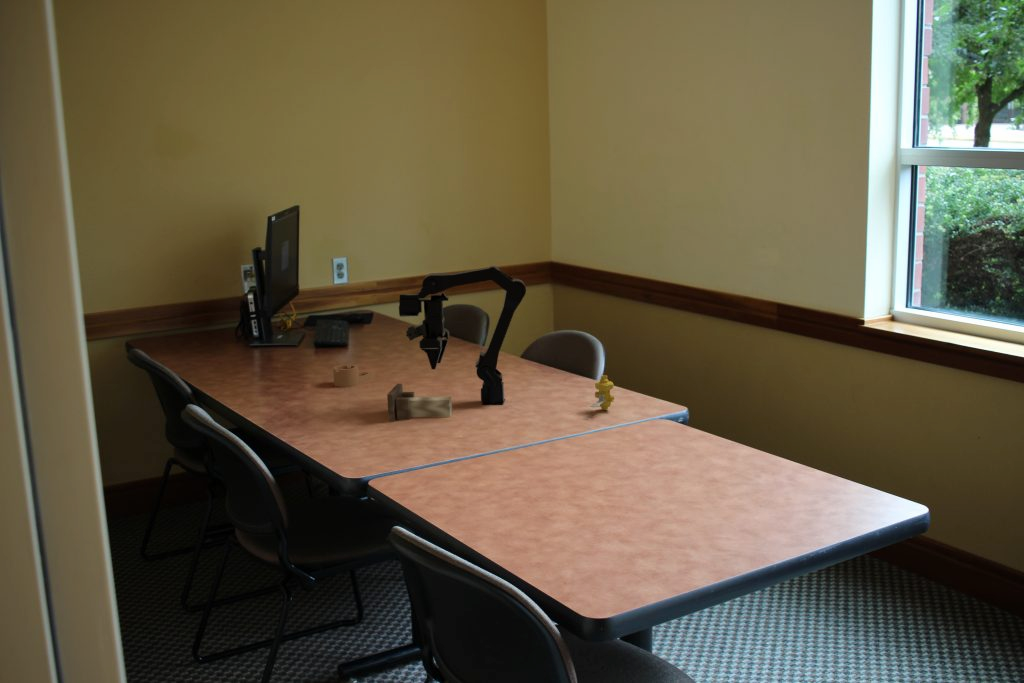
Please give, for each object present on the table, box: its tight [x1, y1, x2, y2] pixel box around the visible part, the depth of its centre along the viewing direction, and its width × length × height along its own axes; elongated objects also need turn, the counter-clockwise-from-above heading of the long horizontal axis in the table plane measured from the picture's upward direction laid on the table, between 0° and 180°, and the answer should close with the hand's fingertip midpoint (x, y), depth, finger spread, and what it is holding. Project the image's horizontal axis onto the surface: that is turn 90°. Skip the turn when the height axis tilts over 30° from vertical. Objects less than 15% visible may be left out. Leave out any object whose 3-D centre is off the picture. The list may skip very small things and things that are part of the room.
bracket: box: [332, 364, 376, 388], centre depth 337 cm, size 18×8×7 cm, turn 155°
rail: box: [401, 396, 453, 418], centre depth 292 cm, size 15×4×5 cm, turn 85°
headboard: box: [386, 383, 415, 423], centre depth 292 cm, size 6×14×8 cm, turn 175°
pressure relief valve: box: [589, 374, 615, 411], centre depth 289 cm, size 6×12×10 cm, turn 155°
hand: (436, 366), depth 303 cm, fingers open, 9 cm apart
